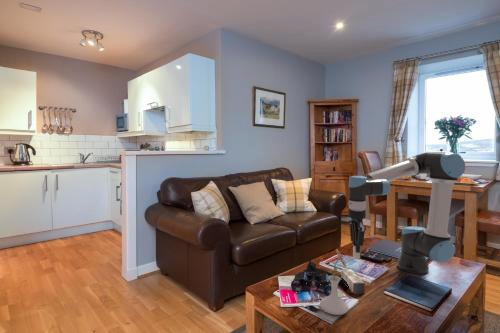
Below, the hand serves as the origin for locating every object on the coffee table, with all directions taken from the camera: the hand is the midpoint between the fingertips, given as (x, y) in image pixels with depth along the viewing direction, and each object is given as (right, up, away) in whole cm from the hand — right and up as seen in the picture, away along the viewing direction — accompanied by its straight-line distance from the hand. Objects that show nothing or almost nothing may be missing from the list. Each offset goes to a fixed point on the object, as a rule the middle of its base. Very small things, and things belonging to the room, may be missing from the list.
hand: (356, 258), depth 136 cm
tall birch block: (0, -13, -3) cm, 13 cm away
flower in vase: (-15, -17, -15) cm, 27 cm away
